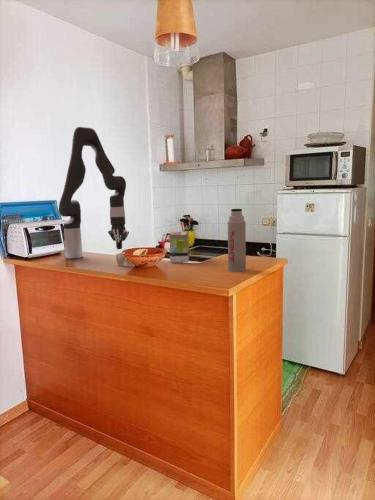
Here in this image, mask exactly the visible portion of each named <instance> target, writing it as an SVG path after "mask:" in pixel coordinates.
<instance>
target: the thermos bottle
mask: <svg viewBox="0 0 375 500" xmlns="http://www.w3.org/2000/svg"><path fill="white" fill-rule="evenodd" d="M228 219H229V220H228V221H227V247H228V248H227V266H228V267H227V268H228V271H229V272H233V273H235V272H236V273H239V272H245V271H246V270H247V267H246V266H247V265H246V263H247V259H246V257H247V255H246V254H247V253H246V250H247V249H246V246H247V245H246V244H247V243H246V242H247V241H246V237H247V236H246V233H247V232H246V231H247V230H246V228H247V227H246V224H247V223H246V221H245V216H244V215H243V208H231V210H230V215H229V216H228Z"/></svg>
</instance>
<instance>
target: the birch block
mask: <svg viewBox="0 0 375 500" xmlns="http://www.w3.org/2000/svg"><path fill="white" fill-rule="evenodd" d="M115 256H116V266H121V265H124V266H125V267H135V266H134V265H133V264H132V263H130V262H129V261H128V260H127V259H125V257H124V256H123V255H122V252H119V253H116V254H115ZM124 266H123V267H124Z"/></svg>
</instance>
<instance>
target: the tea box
mask: <svg viewBox="0 0 375 500" xmlns="http://www.w3.org/2000/svg"><path fill="white" fill-rule="evenodd" d="M189 236H190V233H189V231H172V232H170V233H169V236H168V237H169V263H175V264H176V263H177V264H178V263H189V260H190V238H189Z"/></svg>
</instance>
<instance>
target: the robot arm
mask: <svg viewBox="0 0 375 500" xmlns="http://www.w3.org/2000/svg"><path fill="white" fill-rule="evenodd" d="M84 147H90V148H91V149H92V150H93V152H94V162H95V166H96V167H97V169H98V171H100V174H101V175H102V179H103V183H104V186H105V187H106V188H107V189H108V190H110V191H114V194H113V195H112V194H111V196H109V219H110V222H109V223H110V225H111V228H110V230H108V231H107V233H108V234H109V237H110V238H111V239H112V241H113V242H115V247H116V249H117V250H122V249H123V242H125V241H126V240H127V238H128V236H129V234H130V232H129V230H128V231H127V230H126V227H125V225H126V212H125V201H124V199H125V195H126V193H125V192H126V188H127V181H126V179H125V177H123V176H121V175H114V174H115V171H116V170H115V167H114V165H113V164H112V162H111V161H110V159H109V158H108V156H107V154H106V152H105V150H104V147H103V144H102V142H101V140H100V138H99V136H98V133H97V132H96V130H95V129H93V128H91V127H86V126H77V127H76V128H75V129H74V131H73V135H72V143H71V153H70V158H69V163H68V169H67V171H66V172H67V173H66V176H65V182H64V187H63V192H62V194H61V197H60V200H59V203H58V204H59V205H58V213H59V215H60V216H61V217H69V219H68V220H67V221H66V222H64V223H63V224H62V225H63V237H64V241H63V248H64V257H65V259H80V258H82V257H83V244H82V233H81V232H82V230H81V224H82V214H81V213H82V212H81V204H80V202H79V201H78V200H77V199H73V196H74V194H75V193H76V192H77V191H78V190H79V189H80V187H81V186H82V185H83V183H84V181H85V175H86V172H87V171H86V166H85V162H84V159H83V151H84V150H83V149H84Z"/></svg>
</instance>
